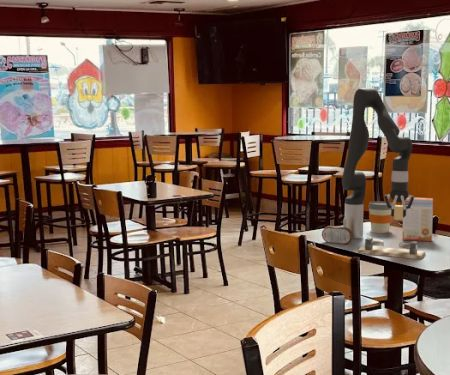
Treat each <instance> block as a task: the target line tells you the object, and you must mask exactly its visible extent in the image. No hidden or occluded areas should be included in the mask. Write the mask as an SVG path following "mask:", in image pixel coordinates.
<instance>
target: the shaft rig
mask: <svg viewBox="0 0 450 375" xmlns="http://www.w3.org/2000/svg"><path fill="white" fill-rule="evenodd" d="M373 238H374V237H366V238H365V239H364V245H363V246H362V247H360V248H358V249H357V253H358V254H363V253H366V254H365V255H374V256H375V255H376V256H385V257H394V258H395V257H396V258H403V259H404V258H406V259H413V260H414V259H415V260H422V259H423V258H424V257H425V256H426V251H425V250H418V249H419V248H418V246H419V245H418V241H415V240H411V242H410V243H407V242H398V248H394V247H384V246H385V245H384V244H385V240H376V239H375V240H374V239H373Z"/></svg>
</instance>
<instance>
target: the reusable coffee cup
mask: <svg viewBox="0 0 450 375" xmlns="http://www.w3.org/2000/svg"><path fill="white" fill-rule="evenodd" d="M389 203H390V205H392V204H393V202H390V201H389ZM368 210H369V212H368V218H369V220H368V221H369V222H370V230H371V231H370V232H373V233H376V234H377V233H378V234H379V233H381V234H385V233H389V231H390V225H391V223H392V218H393V216H391V208H388V207H387V204H386V201H381V200H380V201H378V200H377V201H370V202H368Z"/></svg>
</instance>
